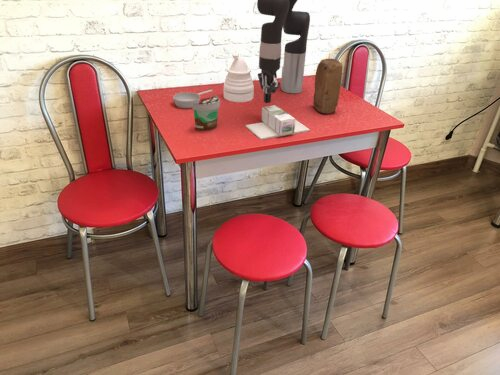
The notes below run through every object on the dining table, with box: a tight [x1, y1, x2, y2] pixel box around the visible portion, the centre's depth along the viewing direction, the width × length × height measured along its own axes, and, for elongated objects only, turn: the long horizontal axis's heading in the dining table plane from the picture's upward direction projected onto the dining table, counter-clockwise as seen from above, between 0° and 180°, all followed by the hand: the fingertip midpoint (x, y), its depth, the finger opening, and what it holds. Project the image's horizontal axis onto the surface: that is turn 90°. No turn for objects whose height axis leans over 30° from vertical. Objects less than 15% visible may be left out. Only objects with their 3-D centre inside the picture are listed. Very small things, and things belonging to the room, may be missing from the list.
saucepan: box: [172, 89, 213, 109], centre depth 171 cm, size 11×18×4 cm, turn 131°
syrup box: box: [261, 104, 296, 136], centre depth 151 cm, size 6×6×14 cm
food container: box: [191, 94, 221, 131], centre depth 150 cm, size 12×6×10 cm, turn 148°
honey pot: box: [223, 53, 255, 103], centre depth 175 cm, size 13×13×18 cm
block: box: [312, 58, 343, 115], centre depth 166 cm, size 11×8×20 cm
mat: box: [245, 119, 311, 141], centre depth 153 cm, size 12×20×1 cm, turn 117°
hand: (267, 102), depth 156 cm, fingers closed
